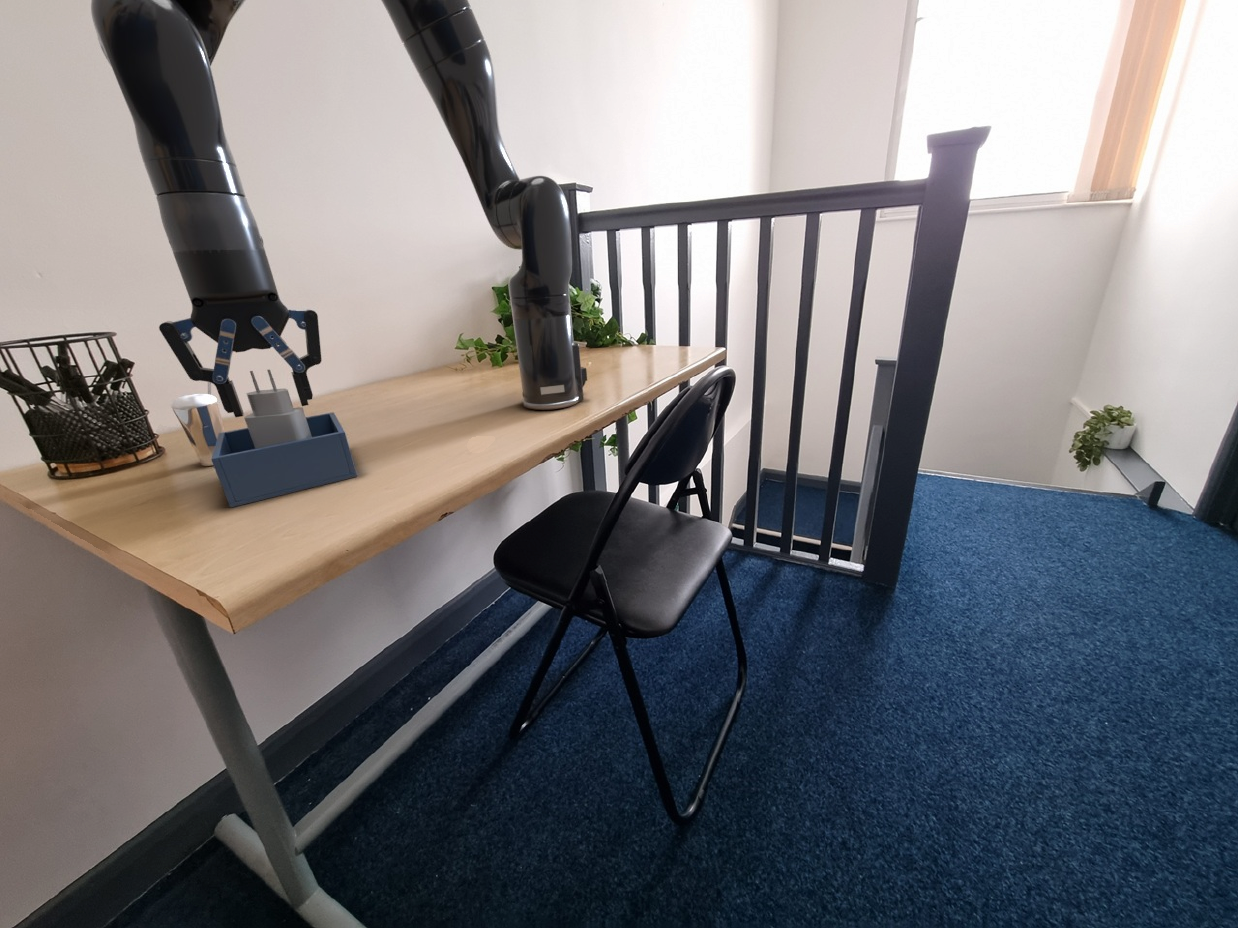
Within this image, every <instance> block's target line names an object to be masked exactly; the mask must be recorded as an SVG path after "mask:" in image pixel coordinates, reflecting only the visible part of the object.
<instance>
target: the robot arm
mask: <svg viewBox="0 0 1238 928" xmlns="http://www.w3.org/2000/svg"><path fill="white" fill-rule="evenodd" d="M246 1H247V0H91V1H90V14H91V18H92V23H93V27H94V30H95V33H96V36H97V40H98V44H99V46H100V49H101V52H102V54H103V56H104V58H105V59H106V61H107V62H108V64H109V65H110V67H111V70H112V71H113V74H114V76H115V79H116V82H117V85H118V86H119V89H120V91H121V94H122V97H123V99H124V102H125V104H126V106H127V108H128V112H129V114H130V116H131V118H132V121H133V125H134V130H135V135H136V141H137V145H138V149H139V153H140V156H141V160H142V162H143V165H144V167H145V171H146V173H147V176H148V179H149V182H150V184H151V187H152V190H153V193H154V195H155V198H156V201H157V206H158V210H159V215H160V220H161V223H162V227H163V230H164V232H165V236H166V237H167V240H168V243H169V245H170V249H171V251H172V254H173V257H174V259H175V262H176V265H177V268H178V270H179V273H180V276H181V279H182V281H183V284H184V287H185V290H186V292H187V295H188V298H189V301H190V303H191V312H190V313H191V314H190V317H188V318H184V319H180V320H179V319H178V320H175V321H172V320H167V321H164V322H162V323H161V324H159V326H158V329H159V330H158V331H160V332H161V335H162V336H163V338H164V340H165V341H166V343H167V345H168V346H169V348H170V350H171V351H172V353H173V354H174V355H175V357H176V359H177V360H178V362H179V364H180V365H181V367H182V368H183V370H184V372H185V373H186V375H187V376H188V378H189V379H190V380H192V381H195V382H206V383H208V382H211V384H213V386H215V388H216V391H217V394H218V396H219V398H220V402H221V404H222V407H223V410H224V411H225V412H226V413H227V414H232V413H233V415H234V417H235V418H241V417H244V415H245V413H244V410H243V407H242V404H241V402H240V397H239V396H238V392H237V389H236V387H235V385H234V384H235V383H234V382H233V380H230V377H229V375H230V369H231V362H232V357H233V353H234V352H235V353H245V352H247V351H249V350H269V349H271V348H273V349H274V350H275V351H276V353H277V354H278V355H279V356H280V357H281V358H282V359H283V360H284V361H285V362H286V363H287V365H288V366H289V367H290V368H291V369H292V371H291V376H292V378H293V382H294V386H295V389H296V392H297V395H298V399H299V402H300V406H301V407H305V406H309V405H310V404H309V400H311V401H312V400H313V396H314V394H313V390H312V387H311V383H310V381H309V377H308V374H307V373H308V371H309V369H310V368H312V367H314V366H319V365H320V364H321V363H322V359H323V358H322V350H321V339H320V329H319V328H320V327H319V315H318V313H317V312H316V311H315V310H314V309H311V308H308V309H305V310H304V309H292V308H288V307H287V306H286V305H285V304H284V303H283V302H282V301H281V300H282V299H280V296H279V292H278V288H277V285H276V283H275V278H274V276H273V272H272V269H271V265H270V263H269V259H268V256H267V253H266V249H265V246H264V240H263V237H262V236H261V233H260V229H259V226H258V223H257V220H256V218H255V216H254V214H253V211H252V209H251V207H250V205H249V201H248V199H247V197H246V193H245V189H244V187H243V183H242V180H241V176H240V172H239V170H238V167H237V164H236V160H235V158H234V155H233V153H232V149H231V148H230V145H229V142H228V139H227V136H226V133H225V128H224V123H223V118H222V113H221V108H220V107H221V106H220V102H219V98H218V93H217V89H216V84H215V80H214V79H215V78H214V75H213V70H212V67H211V66H212V64H213V62H214V60H215V57H216V55H217V53H218V51H219V49H220V46H221V44H222V42H223V39H224V38H225V34H226V31H227V30H228V28H229V25H230V23H231V21H233V19H234V17H235V16H236V15H237V13H238V12H239V11H240V9H241V8H242V7H243V6H244V4H245V2H246ZM381 2H382V5H383V7H384V8H385V10H386V11H387V14H388V16H389V18H390V20H391V22H392V24H393V26H394V28H395V31H396V33H397V35H398V37H399V39H400V41H401V43H402V44H403V48H404V50H405V51H406V53H407V55H408V56H409V59H410V61H411V63H412V64H413V66H414V68H415V71H416V73H417V74H418V76H419V78H420V80H421V82H422V84H423V86H424V88H425V89H426V90H427V92H428V94H429V95H430V98H431V99H432V102H433V104H434V105H435V108H436V110H437V112H438V114H439V116H440V118H441V120H442V122H443V124H444V126H445V128H446V130H447V132H448V134H449V137H450V138H451V141H452V143H453V144H454V146H455V148H456V150H457V152H458V155H459V156H460V158H461V160H462V162H463V165H464V167H465V169H466V172H467V174H468V176H469V179H470V181H471V184H472V185H473V188H474V191H475V194H476V196H477V199H478V201H479V204H480V205H481V208H482V210H483V213H484V215H485V217H486V220H487V222H488V224H489V226H490V228H491V230H492V232H493V233H494V235H495V236H496V238H497V239H498V240H499V241H500V242H501V243H502V244H503V245H505V246H506V247H507V248H509V249H513V250H520V251H521V264H520V267H519V268H518V270H517V271H516V272H515V273H514V274H513V275H512V276H511V277H510V278H509V279H508V295H509V301H510V308H511V315H512V322H513V331H514V338H515V346H516V351H517V360H518V368H519V369H518V370H519V375H520V383H521V390H522V391H521V393H522V394H521V395H522V397H523V398H522V404H523V407H524V408H526V409H531V410H536V411H537V410H539V411H545V410H546V411H547V410H549V411H550V410H557V409H558V410H559V409H564V408H567V407H571V406H574V405H576V404H578V403H580V402H583V401H584V400H585V398H584V397H585V396H584V387H585V384H586V382H587V381H588V373H587V367H583V366H582V364H581V363H582V362H581V352H580V344H579V343H578V342H574V332H573V331H574V329H573V320H572V309H571V308H572V307H571V296H570V280H571V276H572V272H573V257H572V255H573V253H572V230H571V228H572V227H571V218H570V210H569V205H568V202H567V197H566V196H565V194H564V191H563V189H562V188H561V186H560V185H559V184H558V183H557V182H556V180H554V179H553V178H551V177H549V176H546V175H534V176H530V177H525V178H521V179H520V177H519V175H518V173H517V172H516V170H515V167H514V165H513V163H512V161H511V159H510V157H509V154H508V151H507V149H506V147H505V145H504V141H503V137H502V134H501V129H500V122H499V114H498V113H499V111H498V97H497V86H496V85H497V84H496V76H495V70H494V69H495V68H494V64H493V59H492V57H491V56H492V55H491V52H490V50H489V47H488V45H487V41H486V40H485V36H483V33H482V30H481V28H480V26H479V23H478V20H477V19H476V16H475V13H474V12H473V9H472V7H471V5H470V2H469V0H381ZM289 319H292V320H293V321H295V324H296V326H297V328H299V329H300V330H302V331H303V330H304V334H305V335H304V336H305V344H306V354H305V355H302V356H301V357H299V356H298V355H297V353H295V351H294V350H293V349H292V348H291V347H290V345H288V343H287V341H285V340H284V338H283V337H282V334H283V332H284V330H285V328H286V325H287V323H288V322H289ZM194 328H196V329H198V330H199V331H200V332H202V333H203V334H204V335H206V336H207V337H209V339H211V340H212V341H214V342H215V343H217V346H216V352H215V357H214V365H213V368H209V367H204V366H203V365H202V362H201V361H200V360H199V357H198V355H196V353H195V351H194V350H193V348H192V347H191V345H190V343H189V342H190V341H192V340H193V338H194V335H193V329H194Z"/></svg>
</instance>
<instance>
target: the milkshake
mask: <svg viewBox="0 0 1238 928" xmlns="http://www.w3.org/2000/svg"><path fill="white" fill-rule="evenodd" d="M170 407H171V409H172V411H173V413H174V414H175V416H176V418H177V420H178V422H179V424H180V426H181V427H182V429H183V431H184V433H185V435H186V438H187V439H188V441H189V443H190V445H191V447H192V448H193V450H194V453H195V455H196V456H197V458H198V460H199V462H200V464H201V466H204V467H212V466H214V465H213V462H212V460H211V459H212V455H213V452H214V448H215V445H216V441H217V438H218V434H219V433H222V432H226V431H225V427H224V423H223V420H222V419H223V418H222V416H221V415H222V414H221V411H220V407H219V403H218V399H217V397H216V396H215V395H213V394H212V383H211V382H207V393H193V394H185V395H182V396H180V397H177V398H175V399H173V401H172V402H171V404H170Z"/></svg>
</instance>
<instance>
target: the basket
mask: <svg viewBox="0 0 1238 928" xmlns="http://www.w3.org/2000/svg"><path fill="white" fill-rule="evenodd" d="M306 420H307V423H308V426H309V429H310V432H311V436H312V438H307V439H302V440H297V441H292V442H287V443H282V444H277V445H272V446H267V447H262V448H257V449H255V446H254V443H253V441H252V438H251V435H250V432H249V430H248V427H245V428H239V429H234V430H228V431H225V432H222V433H219V434H218V438H217V441H216V445H215V448H214V452H213V455H212V459H211V460H212V462H213V465H212V466H213V467H214V470H215V472H216V475H217V478H218V480H219V483H220V485H221V488H222V490H223V492H224V496H225V498H226V500H227V503H228V505H229V507H230V508H234V507H239V506H243V505H247V504H248V505H249V504H251V503H255V502H260V501H263V500H267V499H272V498H275V497H279V496H283V495H288V494H291V493H296V492H300V491H304V490H308V489H312V488H316V487H320V486H324V485H328V484H332V483H336V482H337V483H338V482H340V481H344V480H349V479H352V478H356V477H358V473H357V470H356V466H355V463H354V459H353V456H352V453H351V449H350V446H349V441H348V437H347V434H346V431H345V430H344V428H343V426H342V424H341V422H340V421H339V419H338V417H337V415H336V414H335V412H334V411H332V412H326V413H321V414H316V415H310V416H306Z"/></svg>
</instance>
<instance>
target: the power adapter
mask: <svg viewBox="0 0 1238 928" xmlns="http://www.w3.org/2000/svg"><path fill="white" fill-rule="evenodd" d="M266 370H267V375H268V377H269V381H270V384H271V387H272V389H262V390H261V389H260V388H259V385H258V381H257V379H256V377H255V374H254V371H253V370H249V373H250V376H251V380H252V383H253V385H254V389H255V391H249V392H246V393H245V394H246V397H247V400H248V403H249V406H250V409H251V412H252V413H250V414H247V415H245V416H243V418H244V419H243V420H244V422H245V424H246V426H247V427H246V428H248V430H249V432H250V435H251V438H252V441H253V443H254V446H255V449H257V448H262V447H267V446H272V445H277V444H282V443H287V442H292V441H297V440H302V439H307V438H312V436H311V432H310V429H309V426H308V423H307V420H306V417H307V416H306V413H305V410H304V408H303V406H300V407H294V406H293V401H292V400H291V396H290V393H289V389H287V388H277V386H276V383H275V380H274V377H273V375H272V372H271V369H266Z"/></svg>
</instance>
